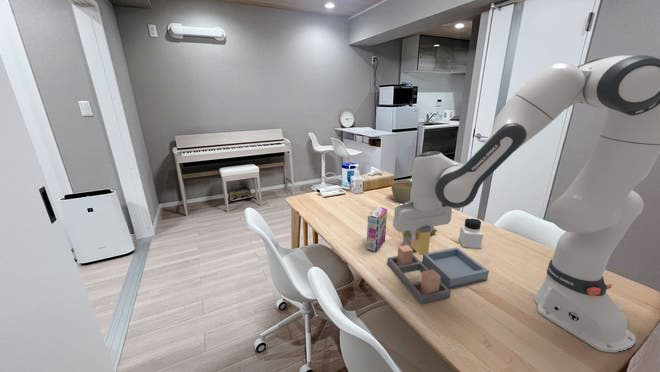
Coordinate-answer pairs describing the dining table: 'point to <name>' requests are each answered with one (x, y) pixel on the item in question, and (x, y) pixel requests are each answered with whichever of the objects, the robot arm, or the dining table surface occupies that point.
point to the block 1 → (404, 255)
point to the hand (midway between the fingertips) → (420, 238)
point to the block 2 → (430, 282)
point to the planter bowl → (402, 190)
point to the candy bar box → (376, 229)
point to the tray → (455, 267)
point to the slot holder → (416, 286)
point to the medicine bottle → (471, 233)
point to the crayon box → (407, 239)
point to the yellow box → (422, 240)
